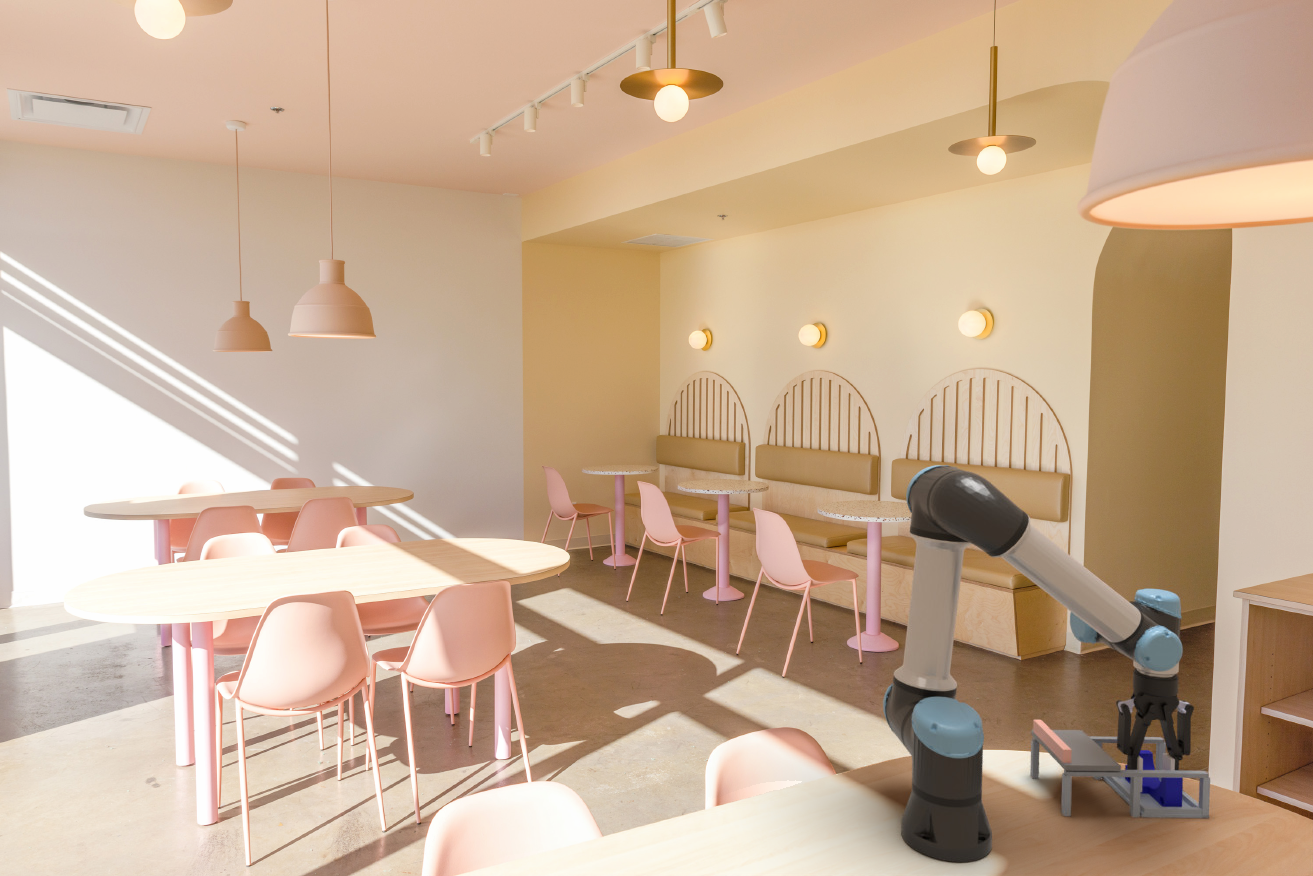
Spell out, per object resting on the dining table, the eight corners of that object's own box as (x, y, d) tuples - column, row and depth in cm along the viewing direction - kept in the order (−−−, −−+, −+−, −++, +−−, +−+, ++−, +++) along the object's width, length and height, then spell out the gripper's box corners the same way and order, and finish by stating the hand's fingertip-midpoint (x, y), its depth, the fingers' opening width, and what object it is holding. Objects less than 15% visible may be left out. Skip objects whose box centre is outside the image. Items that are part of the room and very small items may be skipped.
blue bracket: (1125, 779, 170) (1125, 750, 170) (1148, 779, 170) (1148, 750, 169) (1157, 809, 158) (1157, 777, 158) (1181, 809, 158) (1182, 778, 157)
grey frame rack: (1064, 816, 157) (1065, 772, 156) (1030, 775, 173) (1031, 735, 172) (1208, 818, 156) (1210, 773, 155) (1161, 777, 172) (1162, 737, 171)
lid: (1065, 770, 156) (1065, 751, 156) (1031, 734, 172) (1031, 717, 172) (1120, 771, 156) (1121, 752, 156) (1081, 734, 172) (1081, 718, 172)
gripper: (1116, 677, 159) (1113, 797, 161) (1216, 678, 158) (1212, 799, 160) (1097, 664, 166) (1094, 779, 168) (1193, 664, 166) (1189, 780, 167)
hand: (1152, 788), depth 164 cm, fingers open, 5 cm apart
